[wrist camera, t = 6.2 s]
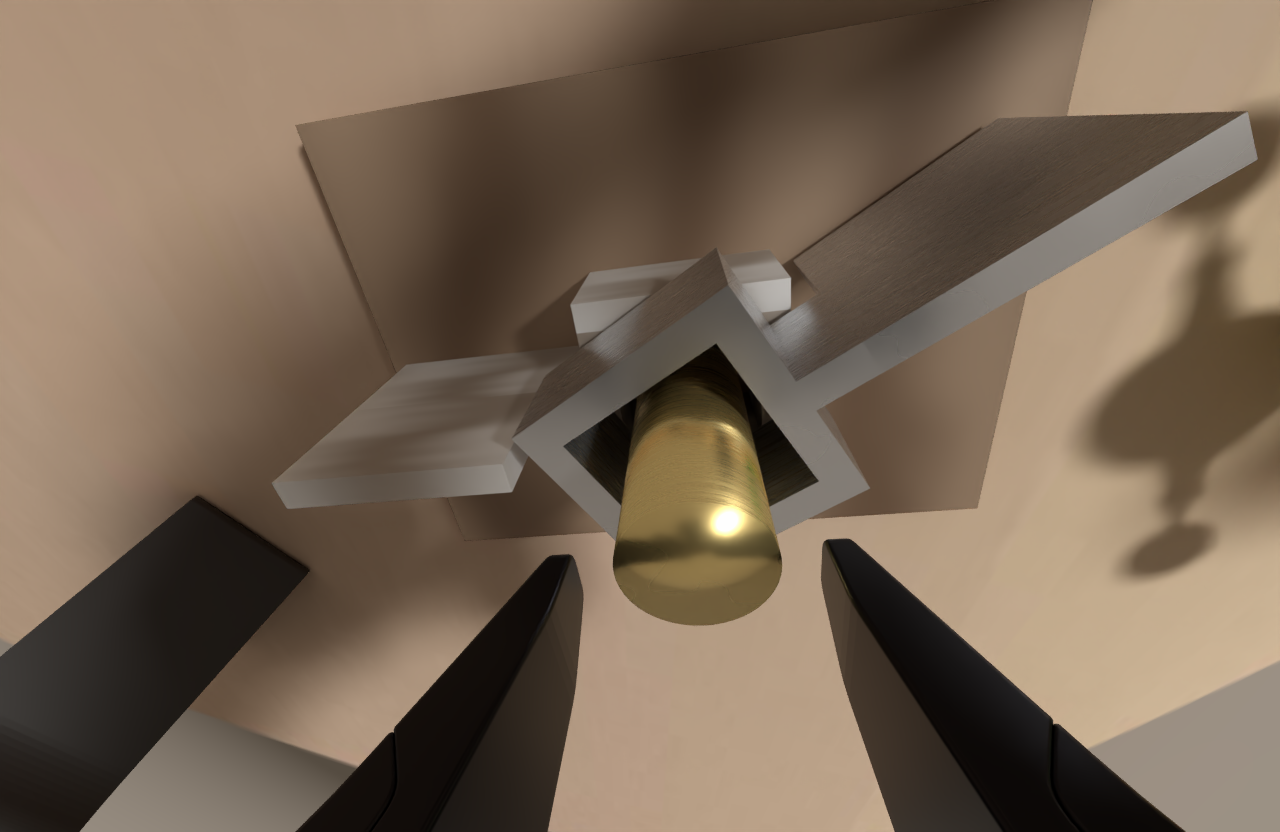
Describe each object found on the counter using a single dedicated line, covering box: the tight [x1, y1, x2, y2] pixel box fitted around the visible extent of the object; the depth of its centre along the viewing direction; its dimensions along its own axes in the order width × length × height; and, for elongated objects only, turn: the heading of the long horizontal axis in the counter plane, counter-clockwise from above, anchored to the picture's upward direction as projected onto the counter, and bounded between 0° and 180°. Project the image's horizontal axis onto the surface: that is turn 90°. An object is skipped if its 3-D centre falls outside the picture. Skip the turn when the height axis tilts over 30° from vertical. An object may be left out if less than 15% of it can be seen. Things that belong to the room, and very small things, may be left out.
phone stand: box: [0, 496, 309, 832], centre depth 21 cm, size 9×6×12 cm, turn 130°
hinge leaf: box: [512, 111, 1258, 541], centre depth 13 cm, size 13×6×7 cm, turn 128°
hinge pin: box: [613, 344, 782, 625], centre depth 12 cm, size 3×3×8 cm
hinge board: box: [272, 0, 1093, 541], centre depth 15 cm, size 21×16×8 cm
